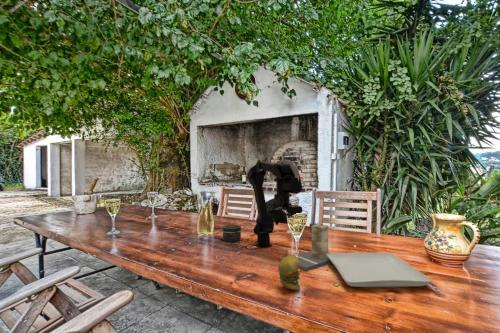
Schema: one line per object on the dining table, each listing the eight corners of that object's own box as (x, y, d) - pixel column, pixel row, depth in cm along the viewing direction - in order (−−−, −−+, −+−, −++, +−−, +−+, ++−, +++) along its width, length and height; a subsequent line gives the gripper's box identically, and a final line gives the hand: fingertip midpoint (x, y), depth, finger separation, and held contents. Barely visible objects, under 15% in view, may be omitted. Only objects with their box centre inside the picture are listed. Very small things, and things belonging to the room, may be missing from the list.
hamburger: (305, 292, 87) (305, 255, 87) (285, 296, 85) (284, 257, 85) (293, 282, 95) (293, 248, 94) (274, 286, 92) (274, 250, 92)
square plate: (325, 261, 114) (325, 252, 114) (391, 261, 113) (391, 251, 113) (346, 292, 87) (346, 280, 87) (434, 291, 86) (434, 279, 86)
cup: (324, 241, 144) (323, 226, 144) (309, 240, 146) (309, 225, 146) (323, 237, 151) (323, 223, 151) (309, 237, 153) (309, 222, 153)
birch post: (311, 256, 117) (311, 225, 116) (318, 253, 120) (317, 224, 120) (322, 259, 113) (321, 227, 113) (328, 256, 117) (327, 225, 116)
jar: (244, 240, 148) (244, 226, 148) (228, 244, 142) (228, 229, 142) (235, 236, 156) (234, 223, 156) (219, 239, 150) (219, 226, 150)
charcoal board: (283, 261, 115) (283, 257, 115) (316, 252, 126) (316, 248, 126) (306, 271, 104) (305, 267, 104) (340, 260, 115) (339, 256, 115)
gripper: (256, 191, 125) (256, 225, 126) (282, 195, 110) (283, 233, 110) (275, 190, 132) (275, 222, 132) (302, 193, 116) (303, 229, 116)
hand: (283, 226), depth 122 cm, fingers open, 9 cm apart
